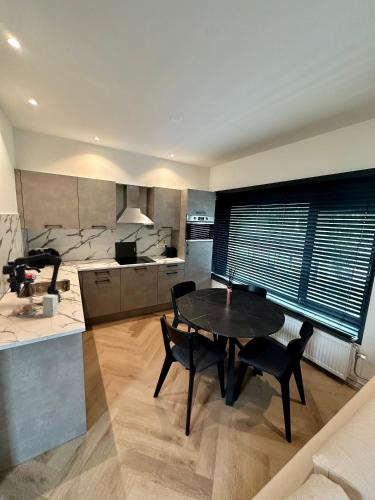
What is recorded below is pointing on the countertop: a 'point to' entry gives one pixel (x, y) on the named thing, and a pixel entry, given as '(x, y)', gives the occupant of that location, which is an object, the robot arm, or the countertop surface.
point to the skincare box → (50, 305)
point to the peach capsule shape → (16, 312)
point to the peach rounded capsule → (21, 308)
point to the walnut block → (27, 310)
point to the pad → (27, 315)
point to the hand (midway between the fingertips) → (22, 292)
